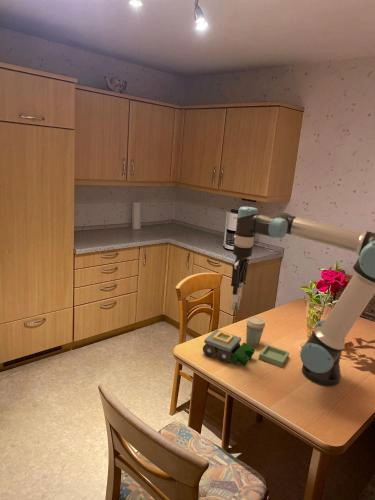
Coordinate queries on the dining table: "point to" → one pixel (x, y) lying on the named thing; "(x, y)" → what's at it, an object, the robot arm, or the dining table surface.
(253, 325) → the coffee cup
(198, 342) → the dining table surface
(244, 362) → the clamp
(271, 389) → the dining table surface
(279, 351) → the tray
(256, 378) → the dining table surface
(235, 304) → the pin
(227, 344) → the toy cart
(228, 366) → the dining table surface
